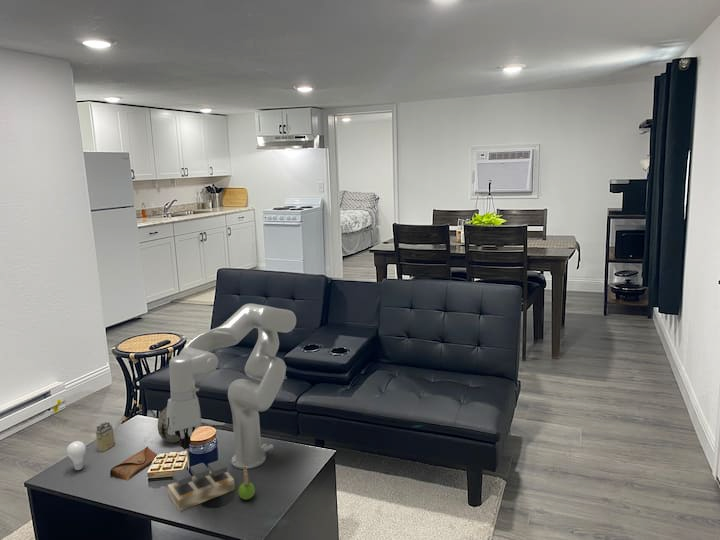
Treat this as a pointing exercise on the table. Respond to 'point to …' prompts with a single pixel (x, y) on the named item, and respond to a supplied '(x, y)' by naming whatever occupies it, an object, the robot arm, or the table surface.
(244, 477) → the green maraca
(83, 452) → the lightbulb
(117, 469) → the sunglasses case
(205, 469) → the switch middle
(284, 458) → the table surface
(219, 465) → the switch
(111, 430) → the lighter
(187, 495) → the switch panel
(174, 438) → the decorative egg
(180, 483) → the switch
